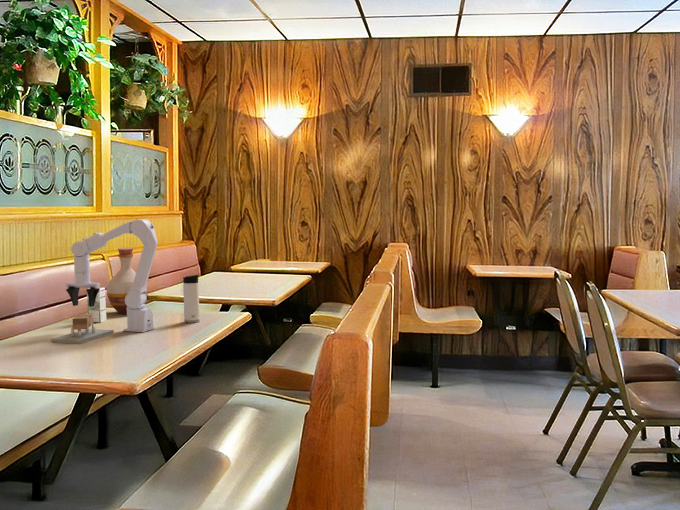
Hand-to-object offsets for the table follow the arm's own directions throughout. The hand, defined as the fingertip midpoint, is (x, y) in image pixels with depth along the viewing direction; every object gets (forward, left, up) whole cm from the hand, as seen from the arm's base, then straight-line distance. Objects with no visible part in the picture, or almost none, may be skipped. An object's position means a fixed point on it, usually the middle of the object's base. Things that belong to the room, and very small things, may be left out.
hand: (83, 305), depth 265 cm
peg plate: (-9, +11, -10) cm, 17 cm away
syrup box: (+8, -19, -10) cm, 23 cm away
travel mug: (-32, -29, -10) cm, 44 cm away
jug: (+10, -43, -10) cm, 45 cm away
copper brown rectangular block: (-9, +11, -6) cm, 15 cm away
